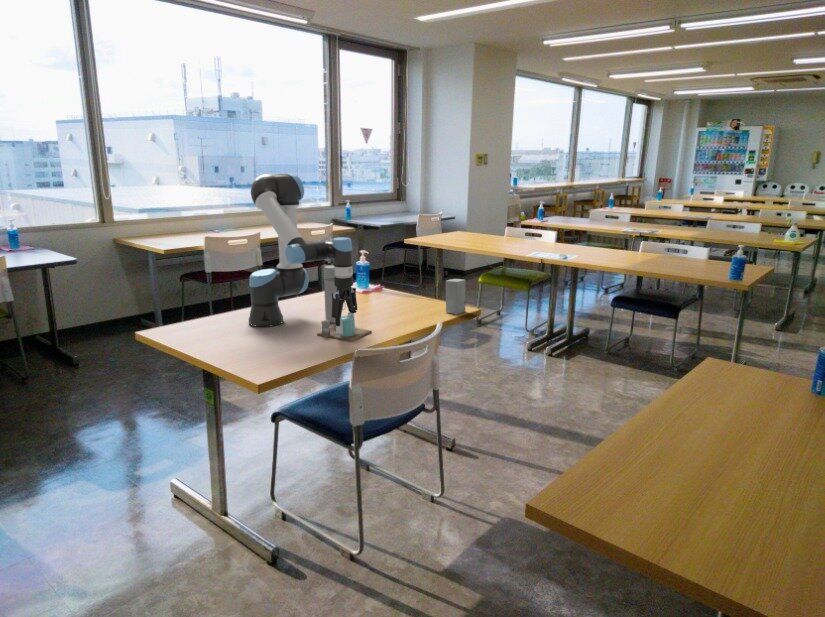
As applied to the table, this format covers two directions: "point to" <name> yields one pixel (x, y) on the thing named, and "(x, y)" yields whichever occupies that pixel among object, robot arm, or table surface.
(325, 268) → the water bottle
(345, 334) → the cap
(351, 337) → the stud board
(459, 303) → the skincare box
